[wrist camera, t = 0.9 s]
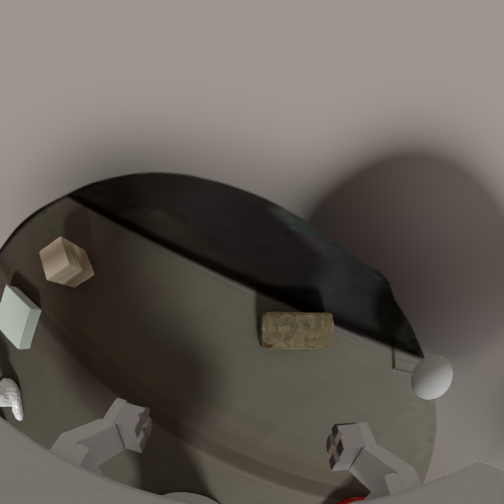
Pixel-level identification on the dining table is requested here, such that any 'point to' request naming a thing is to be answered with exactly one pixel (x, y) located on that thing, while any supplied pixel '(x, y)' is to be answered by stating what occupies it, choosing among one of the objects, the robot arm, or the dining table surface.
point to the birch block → (65, 263)
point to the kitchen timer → (352, 500)
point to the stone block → (296, 330)
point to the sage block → (18, 317)
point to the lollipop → (430, 377)
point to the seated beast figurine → (11, 397)
